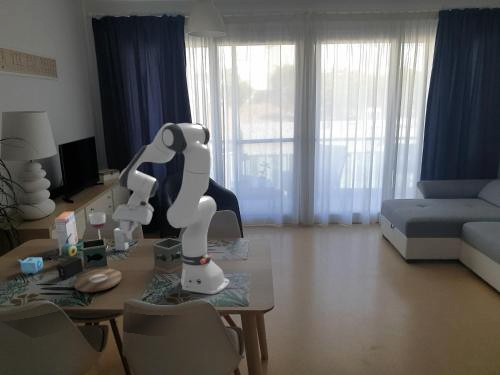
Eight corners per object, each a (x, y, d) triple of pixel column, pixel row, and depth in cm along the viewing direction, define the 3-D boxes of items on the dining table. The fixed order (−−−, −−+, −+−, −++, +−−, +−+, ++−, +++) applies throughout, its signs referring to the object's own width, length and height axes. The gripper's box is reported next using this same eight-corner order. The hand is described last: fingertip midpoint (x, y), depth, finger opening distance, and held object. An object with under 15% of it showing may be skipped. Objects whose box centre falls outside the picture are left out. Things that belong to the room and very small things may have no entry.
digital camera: (75, 269, 185) (73, 256, 184) (83, 271, 183) (81, 257, 182) (57, 278, 176) (55, 264, 174) (65, 280, 174) (63, 266, 172)
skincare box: (128, 247, 212) (127, 227, 209) (125, 250, 208) (123, 230, 205) (118, 247, 213) (116, 227, 210) (115, 250, 209) (113, 230, 206)
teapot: (15, 275, 180) (13, 260, 178) (23, 269, 186) (20, 255, 184) (39, 274, 180) (37, 260, 178) (46, 269, 186) (44, 255, 184)
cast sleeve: (134, 240, 180) (132, 220, 178) (127, 243, 176) (125, 223, 174) (128, 238, 182) (126, 219, 180) (120, 241, 178) (118, 221, 176)
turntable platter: (131, 276, 172) (130, 273, 172) (94, 296, 155) (94, 292, 155) (102, 268, 182) (101, 265, 182) (64, 285, 165) (64, 282, 165)
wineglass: (105, 250, 209) (101, 216, 205) (90, 250, 209) (86, 216, 205) (111, 244, 217) (107, 212, 213) (96, 244, 217) (92, 212, 213)
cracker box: (68, 245, 217) (63, 211, 212) (78, 245, 217) (74, 211, 213) (58, 255, 203) (53, 218, 198) (70, 254, 204) (65, 218, 199)
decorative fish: (68, 264, 196) (77, 265, 194) (53, 254, 186) (63, 256, 184) (78, 242, 203) (87, 243, 201) (65, 232, 193) (74, 232, 191)
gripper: (116, 200, 185) (104, 225, 178) (150, 203, 178) (140, 229, 171) (122, 206, 190) (111, 231, 183) (156, 209, 183) (146, 235, 176)
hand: (125, 230), depth 177 cm, fingers closed on cast sleeve, 4 cm apart
